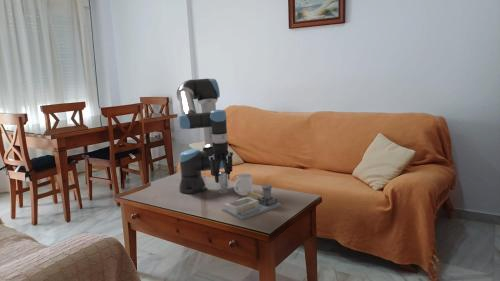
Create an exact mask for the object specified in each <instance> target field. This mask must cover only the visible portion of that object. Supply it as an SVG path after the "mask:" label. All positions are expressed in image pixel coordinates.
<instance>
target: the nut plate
mask: <svg viewBox="0 0 500 281" xmlns="http://www.w3.org/2000/svg"><path fill="white" fill-rule="evenodd" d="M261 189H262V193H263V194H262V195H263V199H264V200H270V199H271V196H272V189H273V185H271V184H263V185H262V186H261ZM279 207H281V203H280V202H277V203H275V204H272V205H269V206H265V205H263V204H260V203H259V201H258V200H256V199H253V198H251V197H248V196H245V197H242V198H239V199H237V200H233V201H230V202H226V203H224V207H222V208H221V209H222V210H221V211H223V212H225V213H226V214H229V215H231V216H233V217H236V218H237V219H240V220H245V219H247V218H250V217H253V216H257V215H259V214H262V213H264V212H267V211H270V210H274V209H276V208H279Z"/></svg>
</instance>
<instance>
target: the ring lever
mask: <svg viewBox="0 0 500 281" xmlns="http://www.w3.org/2000/svg"><path fill="white" fill-rule="evenodd" d="M246 197H250V198H253V199H256V200H258V201H259V203H260V204H263V205H265V206H269V205H272V204H275V203H278V198H277V197H275V196H272V195H271V199H270V200H264V199H263V194H259V193H257V192H254V191H253V192H251V191H249V192H247V196H246Z"/></svg>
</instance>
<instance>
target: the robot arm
mask: <svg viewBox="0 0 500 281" xmlns="http://www.w3.org/2000/svg"><path fill="white" fill-rule="evenodd" d="M220 95H221V94H220V87H219V83H218V81H217V79H216V78H198V79H188V80H185V81H184V82H182V83H181V84H180V85H179V87H178V88H177V90H176V98H177V101H179V105H180V111H181V114H179V115H178V122H179V124H178V125H179V129H180V130H191V129H202V128H203V138H204V145H203V147H202V150H200V149H199V148H191V149H187V150H184V151H182V152H181V153H180V154H179V166H180V177H181V178H180V182H179V187H178V190H179V192H180V193H183V194H195V193H199V192H200V193H201V192H203V191H205V190H206V184H205V181H204V178H203V176H202V172H207V171H210V175H211V176H212V177H214V182H215V183H216V188H217V189H218V190H219V189H221V178H220V176H219V172H220V170H223V169H224V172H226V181H227V188H229V187H230V185H229V183H230V182H229V180H230V175H231V172H232V173H233V155H234V152H232V151H229V145H228V143H229V142H228V127H227V126H228V125H227V118H228V117H227V113H226V110H225V109H217V107H216V103H217V102H218V100H219V98H220V97H221V96H220ZM195 100H197V102H198V104H199V105H200V109H201V112H197V110H196V105H195Z"/></svg>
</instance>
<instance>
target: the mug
mask: <svg viewBox="0 0 500 281" xmlns="http://www.w3.org/2000/svg"><path fill="white" fill-rule="evenodd" d="M233 189H234V192H235V193H237V194H238V195H239V196H242V197H244V196H245V197H248V196H247V192H249V191H251V192H254V190H253V175H252V174H251V173H239V174H237V175H236V181H235V182H234V185H233Z"/></svg>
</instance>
